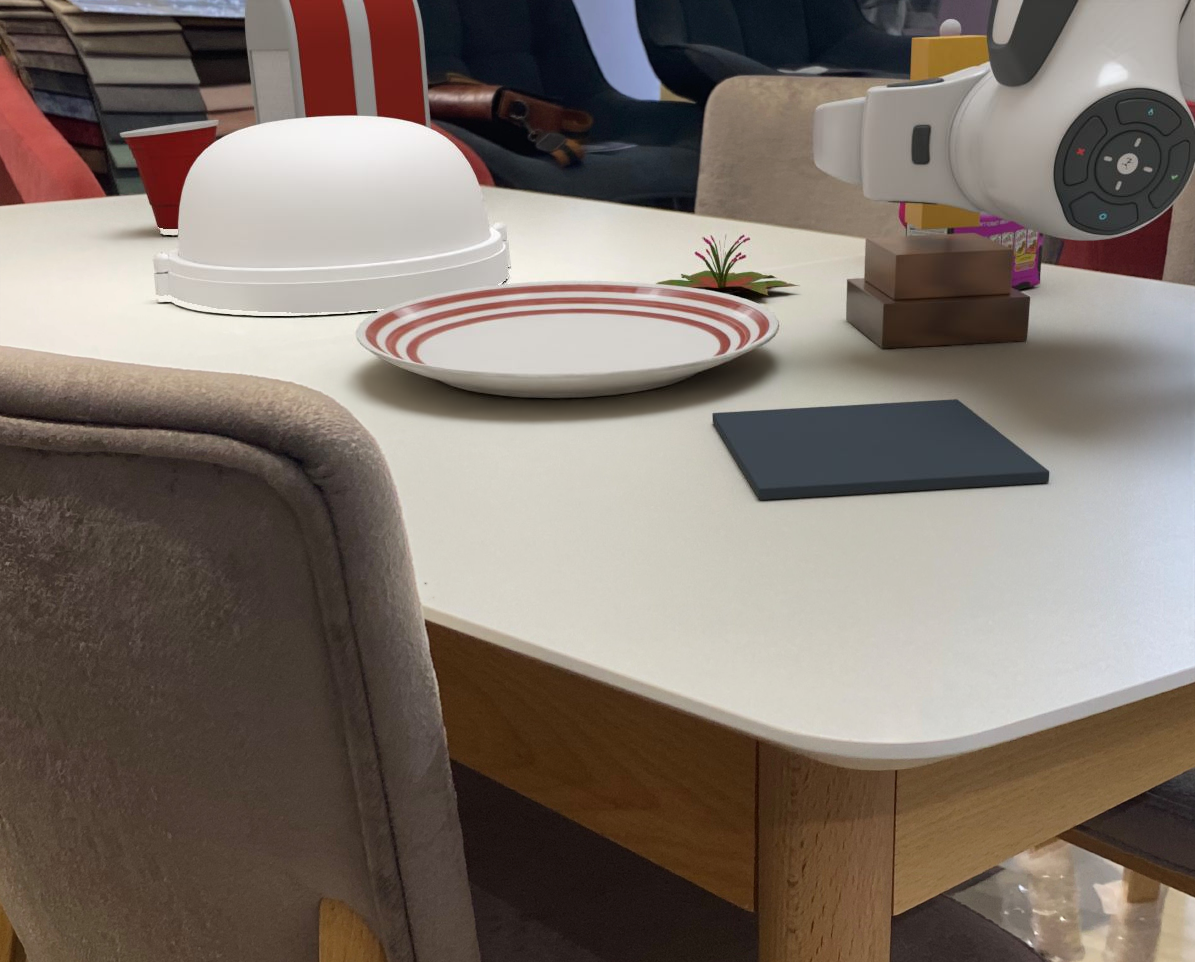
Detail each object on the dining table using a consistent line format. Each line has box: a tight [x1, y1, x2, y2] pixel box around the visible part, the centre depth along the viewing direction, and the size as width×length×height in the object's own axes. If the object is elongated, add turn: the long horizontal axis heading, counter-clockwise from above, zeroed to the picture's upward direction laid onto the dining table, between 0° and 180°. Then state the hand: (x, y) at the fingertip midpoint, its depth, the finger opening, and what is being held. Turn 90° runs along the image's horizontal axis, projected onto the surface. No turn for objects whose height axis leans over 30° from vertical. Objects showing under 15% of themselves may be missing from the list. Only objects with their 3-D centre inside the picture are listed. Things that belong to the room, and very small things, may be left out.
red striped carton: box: [244, 0, 432, 129], centre depth 181 cm, size 16×18×27 cm
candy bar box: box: [905, 211, 1044, 291], centre depth 110 cm, size 11×5×16 cm, turn 126°
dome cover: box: [152, 116, 512, 313], centre depth 125 cm, size 32×30×14 cm
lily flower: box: [655, 234, 801, 297], centre depth 116 cm, size 12×12×5 cm
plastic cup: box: [119, 119, 220, 229], centre depth 161 cm, size 11×11×12 cm
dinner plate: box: [355, 280, 780, 399], centre depth 94 cm, size 27×27×3 cm
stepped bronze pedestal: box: [845, 233, 1031, 350], centre depth 100 cm, size 10×10×6 cm
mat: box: [712, 398, 1050, 501], centre depth 74 cm, size 14×14×1 cm
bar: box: [905, 34, 989, 230], centre depth 96 cm, size 4×4×12 cm
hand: (941, 122), depth 97 cm, fingers closed on bar, 4 cm apart
